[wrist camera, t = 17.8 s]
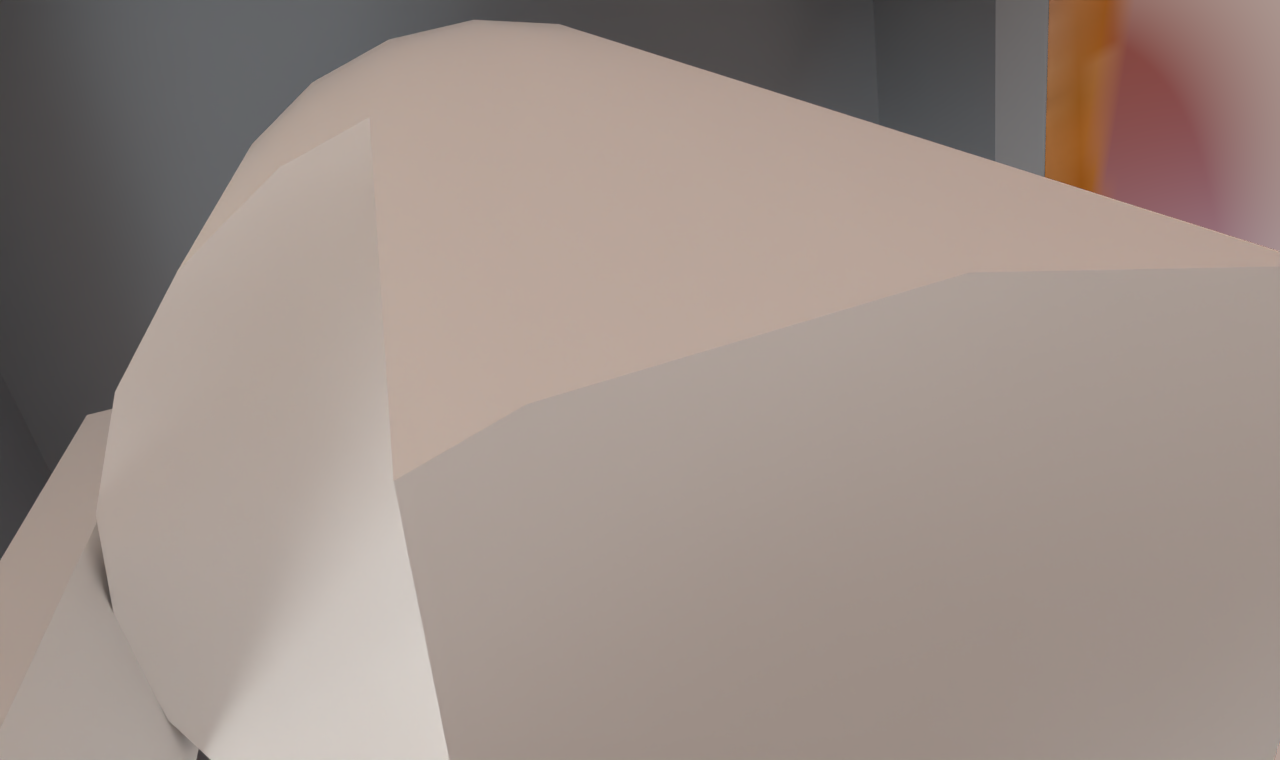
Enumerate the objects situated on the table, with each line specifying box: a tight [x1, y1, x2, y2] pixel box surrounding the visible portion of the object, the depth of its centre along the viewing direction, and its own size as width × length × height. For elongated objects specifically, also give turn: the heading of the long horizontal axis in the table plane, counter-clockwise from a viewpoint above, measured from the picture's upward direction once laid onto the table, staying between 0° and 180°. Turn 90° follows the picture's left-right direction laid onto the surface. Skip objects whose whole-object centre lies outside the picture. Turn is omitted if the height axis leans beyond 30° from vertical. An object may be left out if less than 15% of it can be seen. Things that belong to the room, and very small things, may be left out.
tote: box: [0, 0, 1049, 760], centre depth 20 cm, size 26×20×5 cm
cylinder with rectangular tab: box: [96, 20, 1280, 760], centre depth 10 cm, size 9×9×12 cm
